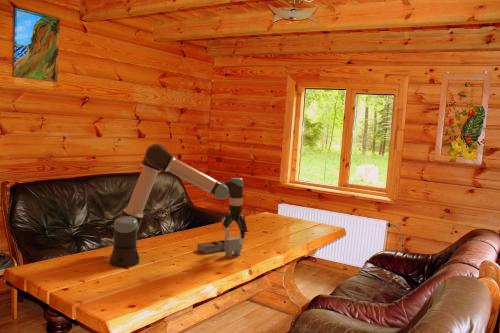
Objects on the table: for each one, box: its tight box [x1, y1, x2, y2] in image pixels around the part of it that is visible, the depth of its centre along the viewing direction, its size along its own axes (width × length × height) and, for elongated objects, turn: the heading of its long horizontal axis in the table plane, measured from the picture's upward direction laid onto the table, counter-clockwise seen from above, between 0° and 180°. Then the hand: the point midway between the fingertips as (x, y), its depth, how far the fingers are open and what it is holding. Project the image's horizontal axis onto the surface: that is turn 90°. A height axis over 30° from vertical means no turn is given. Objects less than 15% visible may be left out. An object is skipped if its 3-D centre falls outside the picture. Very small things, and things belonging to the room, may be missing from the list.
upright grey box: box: [224, 236, 243, 258], centre depth 250 cm, size 10×4×10 cm, turn 130°
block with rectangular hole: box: [196, 239, 226, 255], centre depth 261 cm, size 26×8×4 cm, turn 130°
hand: (234, 241), depth 250 cm, fingers open, 13 cm apart
